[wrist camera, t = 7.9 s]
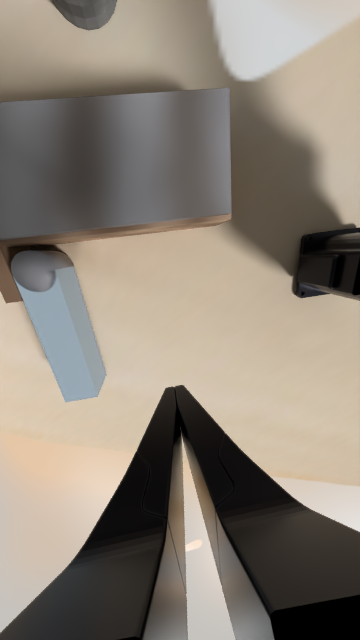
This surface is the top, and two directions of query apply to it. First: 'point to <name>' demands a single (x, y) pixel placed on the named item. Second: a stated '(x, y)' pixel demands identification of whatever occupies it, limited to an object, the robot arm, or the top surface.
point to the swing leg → (60, 321)
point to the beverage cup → (86, 12)
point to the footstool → (110, 169)
